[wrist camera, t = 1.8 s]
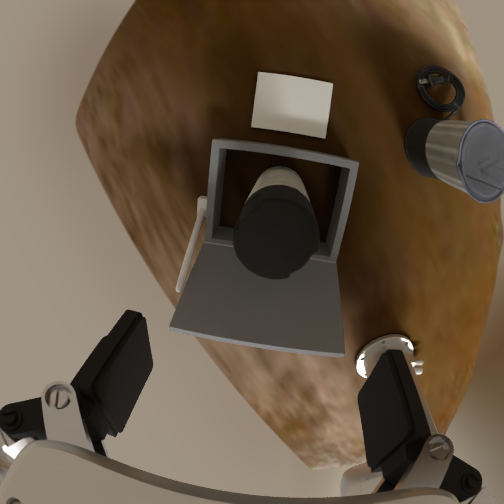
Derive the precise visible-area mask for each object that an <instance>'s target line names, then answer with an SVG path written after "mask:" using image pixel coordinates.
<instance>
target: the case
mask: <svg viewBox="0 0 504 504" xmlns="http://www.w3.org/2000/svg"><path fill="white" fill-rule="evenodd" d="M227 149H234V150H243V151H252V152H259V153H267V154H274V155H280V156H287V157H293V158H299V159H305V160H310V161H316V162H321V163H326V164H331V165H336V166H341V172H340V178H339V183H338V188H337V193H336V198H335V202H334V207H333V212H332V216H331V221H330V225H329V230H328V234H327V238H326V242H320V245H319V249H318V251H317V252H316V253H314V254H313V255H312V256H311V257H310V259H309V261H308V262H307V263H306V264H305V265H304V266H303V267H302V268H301V269H299V270H297V271H295V272H293V273H292V274H290V276H289V278H286V279H277V280H276V279H267V278H263V277H260V276H258V275H256V274H254V273H252V272H251V271H249V270H248V269H247V268H246V267H245V266H244V265H243V264H242V263H241V262H240V260H239V259H238V258H237V256H236V253H235V250H234V246H233V229H234V228H230V227H223V226H220V217H221V206H222V195H223V184H224V174H225V164H226V155H227ZM358 167H359V162H357V161H355V160H353V159H350V158H346V157H341V156H337V155H332V154H327V153H322V152H317V151H312V150H306V149H300V148H295V147H288V146H282V145H275V144H268V143H261V142H253V141H244V140H235V139H225V138H219V139H212V147H211V158H210V169H209V180H208V193H207V196H200V197H199V198H198V205H197V219H196V222H195V225H194V229H193V232H192V235H191V238H190V241H189V245H188V248H187V251H186V254H185V258H184V261H183V265H182V268H181V271H180V275H179V278H178V282H177V286H176V291H177V292H182V290H183V286H184V283H185V279H186V275H187V272H188V268H189V265H190V261H191V258H192V254H193V251H194V247H195V244H196V241H197V237H198V234H199V231H200V227H201V224H202V221H203V218H204V217H206V221H205V238H204V243H203V245H202V248H201V250H200V252H199V255H198V257H197V259H196V262H195V264H194V266H193V269H192V271H191V274H190V276H189V278H188V281H187V283H186V286H185V288H184V290H183V293H182V295H181V298H180V300H179V303H178V305H177V308H176V310H175V313H174V315H173V318H172V321H171V323H170V326H169V328H170V331H174V332H179V333H183V334H187V335H192V336H196V337H201V338H206V339H211V340H216V341H221V342H227V343H232V344H238V345H244V346H250V347H256V348H263V349H269V350H277V351H284V352H292V353H300V354H309V355H319V356H329V357H341V358H342V357H343V356H344V355H345V346H344V332H343V320H342V309H341V299H340V289H339V281H338V272H337V265H336V261H337V257H338V254H339V250H340V246H341V242H342V238H343V234H344V230H345V226H346V222H347V218H348V214H349V209H350V205H351V201H352V196H353V191H354V187H355V182H356V177H357V172H358Z"/></svg>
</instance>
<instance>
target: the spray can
mask: <svg viewBox="0 0 504 504" xmlns="http://www.w3.org/2000/svg"><path fill="white" fill-rule="evenodd" d="M319 245H320V233H319V228H318V224H317V221H316V218H315V214H314V211H313V208H312V205H311V203H310V200H309V197H308V195H307V192H306V190H305V187H304V184H303V182H302V180H301V178H300V176H299V175H298V174H297V173H296V172H295V171H294V170H292V169H290V168H288V167H284V166H275V167H271V168H269V169H267V170H266V171H264V172H263V173H262V174H261V175H260V177H259V178H258V180H257V182H256V184H255V186H254V187H253V189H252V191H251V193H250V195H249V196H248V198H247V200H246V202H245V204H244V206H243V209H242V211H241V213H240V216H239V218H238V220H237V222H236V224H235V227H234V229H233V246H234V250H235V253H236V256H237V258H238V259H239V260H240V262H241V263H242V264H243V265H244V266H245V267H246V268H247V269H248V270H249V271H251V272H252V273H254V274H256V275H258V276H260V277H263V278H267V279H276V280H277V279H286V278H289V276H290V274H292V273H293V272H295V271H297V270H299V269H301V268H302V267H303V266H304V265H305V264H306V263H307V262H308V261H309V259H310V257H311V256H312V255H313V254H314V253H316V252H317V251H318V249H319Z"/></svg>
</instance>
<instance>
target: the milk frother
mask: <svg viewBox="0 0 504 504" xmlns="http://www.w3.org/2000/svg"><path fill="white" fill-rule="evenodd" d="M431 73H435V74H440V75H439V76H430V75H429V74H431ZM442 75H443V77H442ZM444 82H447V83H451V84H453V86H454V88H455V90H456V96H455V99H454V100H453V101H452V102H451V103H450V104H440V103H438V102H436V101H434V100H433V99H432V98H431V97H430V96H429V95H428V93H427V92H426V90H425V88H424V85H425V84H427V83H428V85H429V87H433V85H436V84H440V83H441V84H444ZM417 87H418V90H419V92H420V95H421V96H422V98H423V100H424V101H425V102H426V103H427V104H428V105H429V106H431V107H433V108H434V109H436V110H439V111H443V112H450V111H452V113H451V114H450V115H448V116H447V117H446V118H445V119H444V120H437V119H434V118H431V117H424V118H421V119H418V120H416V121H415V122H414V123H413V124H412V125H411V126H410V128H409V129H408V131H407V134H406V138H405V151H406V155H407V158H408V160H409V162H410V164H411V165H412V167H413V168H414V169H415V170H416V171H417V172H418V173H420V174H421V175H423V176H426V177H433V178H436V179H438V180H441V181H443V182H445V183H447V184H449V185H451V186H453V187H455V188H457V189H459V190H462V191H464V192H466V193H468V194H469V195H470V196H471V197H472V198H473V199H474V200H476V201H478V202H480V203H491V202H494V201H496V200H497V199H499V198H500V197H501V196H502V195H503V194H504V132H503V130H502V129H501V128H500V127H499V126H498V125H497V124H496V123H494V122H493V121H491V120H487V119H480V120H477V121H458V120H449V119H450V118H451V117H452V116H453V115H454V114H455V113H456V112H457V111H458V110H459V109H460V107H461V106H462V105H463V102H464V98H465V91H464V87H463V85H462V83H461V82H460V80H459V79H458V78H457V77H456V76H455V75H454V74H452V73H451V72H450V71H448V70H446V69H444V68H442V67H440V66H435V65H430V66H426V67H424V68H422V69H421V70H420V71H419V73H418V75H417Z"/></svg>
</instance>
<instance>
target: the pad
mask: <svg viewBox="0 0 504 504" xmlns="http://www.w3.org/2000/svg"><path fill="white" fill-rule="evenodd" d="M332 88H333V83H328V82H323V81H318V80H313V79H307V78H301V77H295V76H288V75H281V74H273V73H264V72H258V78H257V86H256V93H255V101H254V108H253V116H252V124H251V127H255V128H263V129H271V130H278V131H284V132H291V133H297V134H303V135H308V136H314V137H319V138H324V139H325V138H326V131H327V124H328V118H329V111H330V104H331V96H332Z"/></svg>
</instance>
